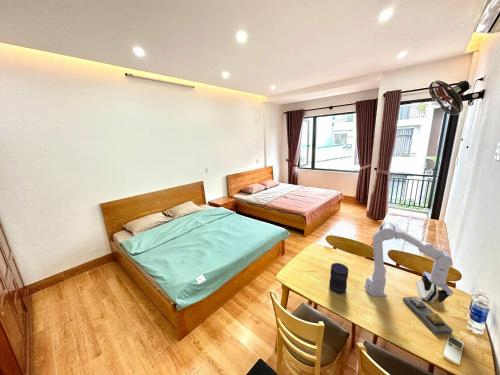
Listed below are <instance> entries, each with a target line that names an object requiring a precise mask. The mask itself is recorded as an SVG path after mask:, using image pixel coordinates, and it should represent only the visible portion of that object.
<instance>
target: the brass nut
mask: <svg viewBox="0 0 500 375" xmlns="http://www.w3.org/2000/svg"><path fill="white" fill-rule="evenodd" d="M427 319H428V320H429V321H430V322H431V323H432V324H433V325H434V326H442V324H443V321H444V319H443V318H442V317H440V315H438V313H436V312H434V313H428V316H427ZM444 322H445V321H444Z"/></svg>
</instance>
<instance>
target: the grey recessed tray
mask: <svg viewBox="0 0 500 375" xmlns="http://www.w3.org/2000/svg"><path fill="white" fill-rule="evenodd" d="M412 298H418V296H406V297H405V296H404V297H403V298H402V301H403V303H404V304H405V305H406V306H407V307H408V308H409V309H410V310H411V311H412V312H413V313H414V315H416V316H417V317H418V319H419V320H421V321H422V322H423V324H424V325H425V326H426V327H427V328H428V329H429V330H430V331H431V332H432V333H433V334H434V335H435V336H436V335H439V336H440V335H451V334H453V331H454V330H453V328H451V326H449V325H448V324H447V323H446V322H445V321H443V324H442V326H434V325H433V324H432V323H431V322H430V321H429V320H428V319H427V316H428V313H435V312H434V311H433V310H432V309H431V308H430V307H429V306H428V305H427V304H425V307H424V308H421V309H417V308H416V307H415V306H414V305H413V304H412V303H411V300H412Z"/></svg>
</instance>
